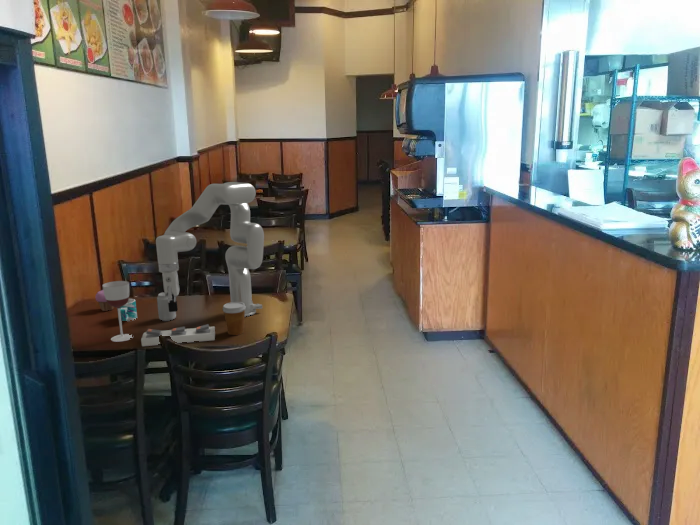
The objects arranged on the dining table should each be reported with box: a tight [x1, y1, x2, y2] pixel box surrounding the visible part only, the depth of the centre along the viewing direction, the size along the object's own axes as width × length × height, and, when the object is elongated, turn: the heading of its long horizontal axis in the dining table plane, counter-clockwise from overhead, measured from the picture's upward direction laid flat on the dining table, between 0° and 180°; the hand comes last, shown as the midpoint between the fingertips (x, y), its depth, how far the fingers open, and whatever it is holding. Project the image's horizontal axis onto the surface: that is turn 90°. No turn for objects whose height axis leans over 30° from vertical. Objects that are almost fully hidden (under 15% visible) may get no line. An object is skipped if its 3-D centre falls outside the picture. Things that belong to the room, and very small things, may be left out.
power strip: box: [140, 326, 216, 347], centre depth 232 cm, size 28×8×3 cm, turn 101°
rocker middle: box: [171, 326, 186, 334], centre depth 230 cm, size 5×3×1 cm, turn 101°
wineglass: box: [102, 280, 134, 343], centre depth 233 cm, size 9×10×23 cm
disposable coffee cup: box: [221, 301, 246, 336], centre depth 238 cm, size 10×10×12 cm
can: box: [156, 291, 177, 322], centre depth 256 cm, size 8×8×12 cm
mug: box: [116, 298, 138, 322], centre depth 256 cm, size 8×12×8 cm
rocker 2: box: [195, 323, 210, 332], centre depth 232 cm, size 5×3×1 cm, turn 101°
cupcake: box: [95, 289, 114, 312], centre depth 271 cm, size 9×9×10 cm
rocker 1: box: [146, 328, 162, 335], centre depth 229 cm, size 5×3×1 cm, turn 101°
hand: (173, 310), depth 229 cm, fingers closed
